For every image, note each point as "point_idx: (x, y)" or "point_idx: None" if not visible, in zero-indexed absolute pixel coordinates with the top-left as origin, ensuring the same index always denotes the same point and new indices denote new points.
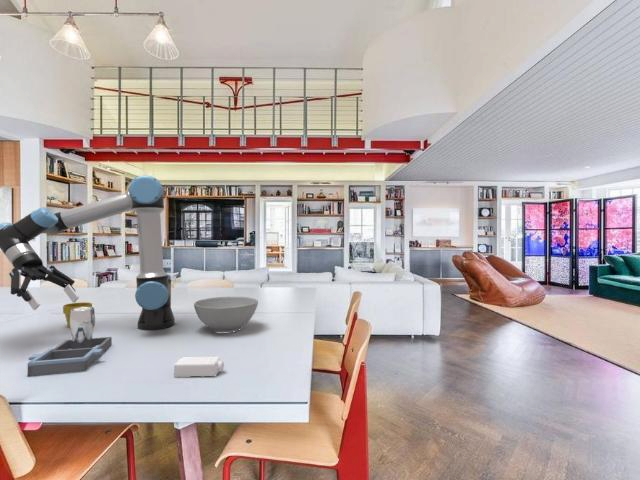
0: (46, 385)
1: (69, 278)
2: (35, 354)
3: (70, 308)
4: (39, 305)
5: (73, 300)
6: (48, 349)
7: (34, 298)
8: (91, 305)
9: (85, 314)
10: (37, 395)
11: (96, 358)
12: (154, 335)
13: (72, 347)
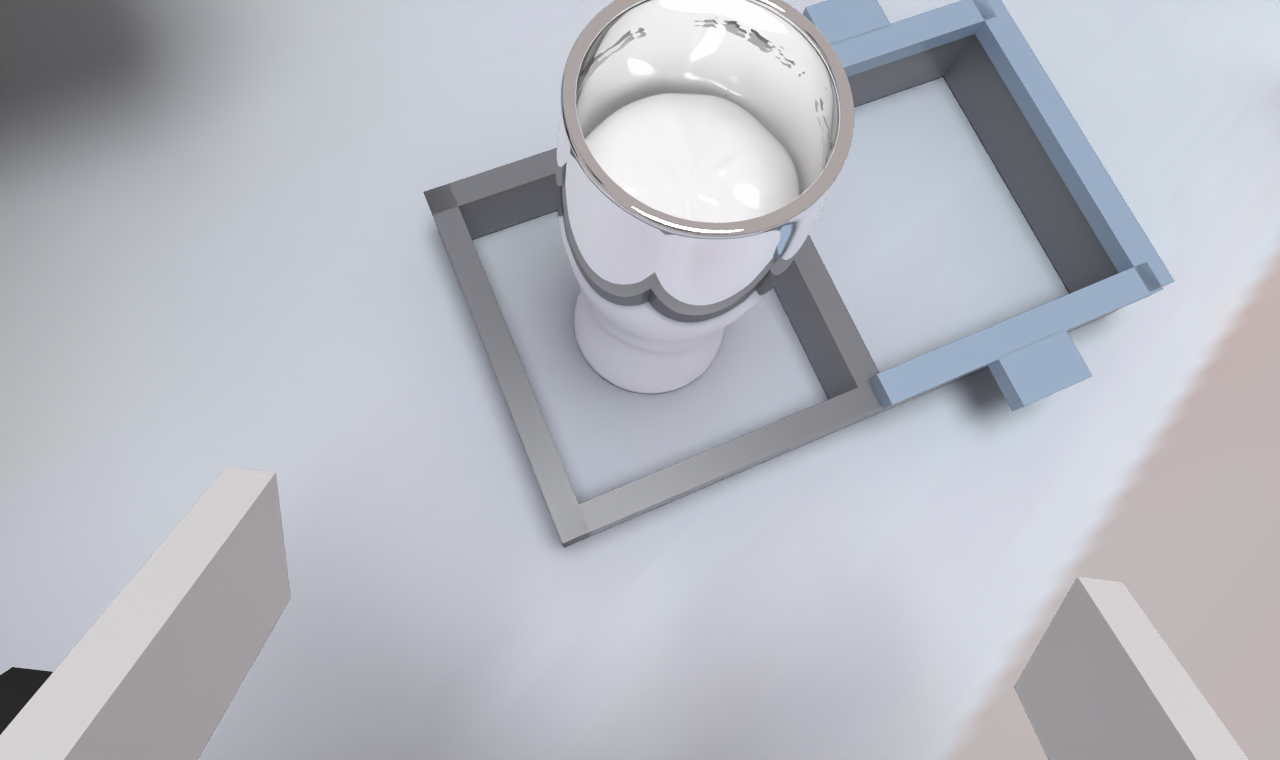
0: (1161, 110)
1: None
2: (1027, 387)
3: None
4: (1063, 605)
5: (273, 591)
6: (904, 394)
7: (1212, 725)
8: None
9: (776, 41)
10: (1253, 62)
11: None
12: (133, 41)
13: (709, 347)
